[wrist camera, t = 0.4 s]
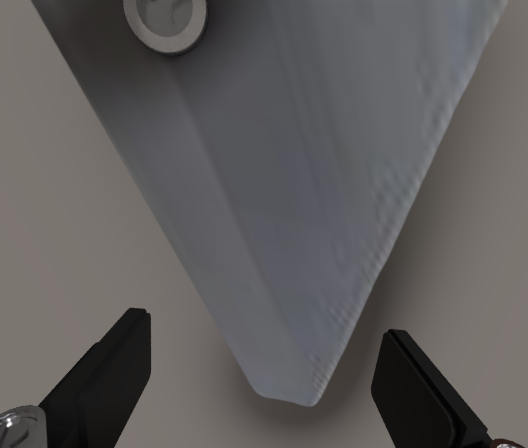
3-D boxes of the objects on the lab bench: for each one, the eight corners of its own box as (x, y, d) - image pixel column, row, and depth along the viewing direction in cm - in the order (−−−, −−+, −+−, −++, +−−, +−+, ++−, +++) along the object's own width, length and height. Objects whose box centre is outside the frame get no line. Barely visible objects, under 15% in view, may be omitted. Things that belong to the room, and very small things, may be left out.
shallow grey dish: (128, -41, 32) (121, -51, 30) (210, -30, 32) (207, -40, 31) (129, 51, 34) (123, 46, 33) (206, 60, 35) (203, 55, 33)
